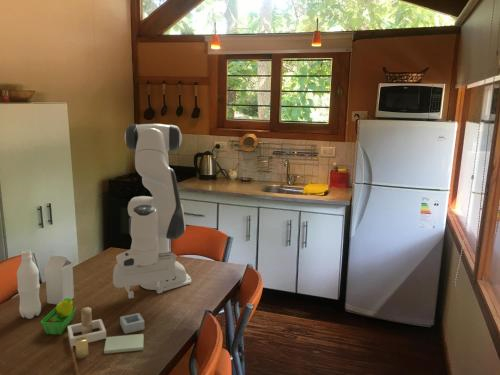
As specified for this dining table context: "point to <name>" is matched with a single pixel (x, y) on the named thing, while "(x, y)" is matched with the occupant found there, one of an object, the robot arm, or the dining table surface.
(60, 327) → the fruit basket
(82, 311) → the dowel
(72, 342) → the tray
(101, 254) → the dining table surface
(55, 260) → the milk carton
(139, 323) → the socket block
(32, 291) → the water bottle
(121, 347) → the plate board
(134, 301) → the dining table surface
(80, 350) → the cylinder
